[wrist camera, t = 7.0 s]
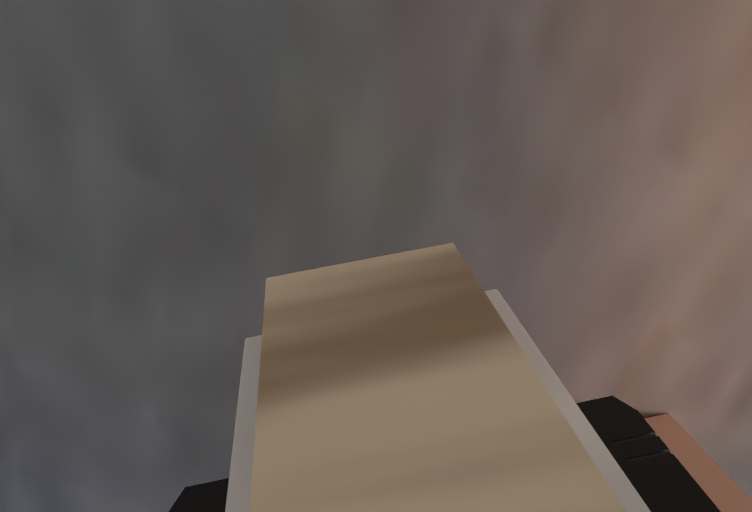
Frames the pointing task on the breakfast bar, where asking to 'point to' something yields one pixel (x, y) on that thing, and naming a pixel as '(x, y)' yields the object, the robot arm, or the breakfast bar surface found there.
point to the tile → (700, 465)
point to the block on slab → (406, 398)
